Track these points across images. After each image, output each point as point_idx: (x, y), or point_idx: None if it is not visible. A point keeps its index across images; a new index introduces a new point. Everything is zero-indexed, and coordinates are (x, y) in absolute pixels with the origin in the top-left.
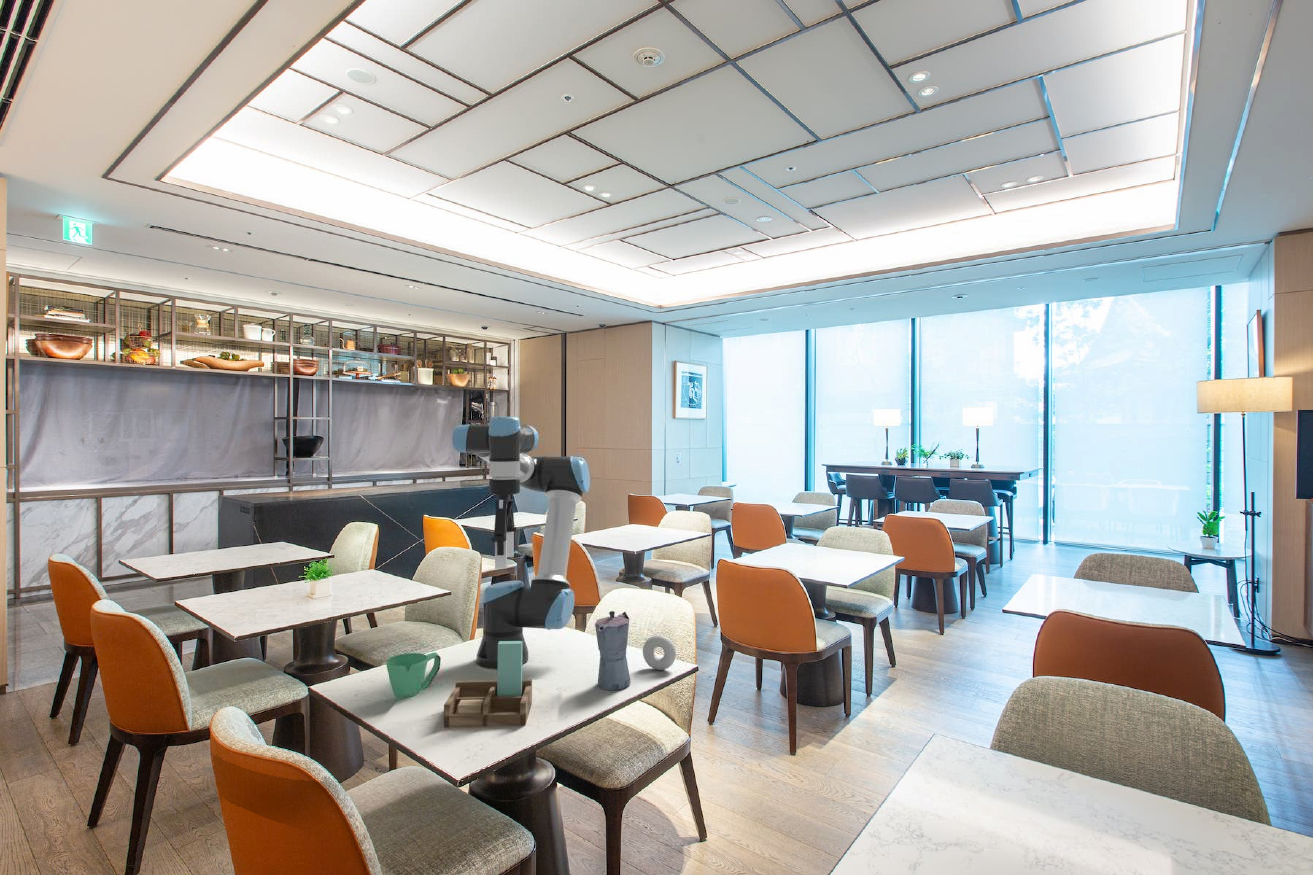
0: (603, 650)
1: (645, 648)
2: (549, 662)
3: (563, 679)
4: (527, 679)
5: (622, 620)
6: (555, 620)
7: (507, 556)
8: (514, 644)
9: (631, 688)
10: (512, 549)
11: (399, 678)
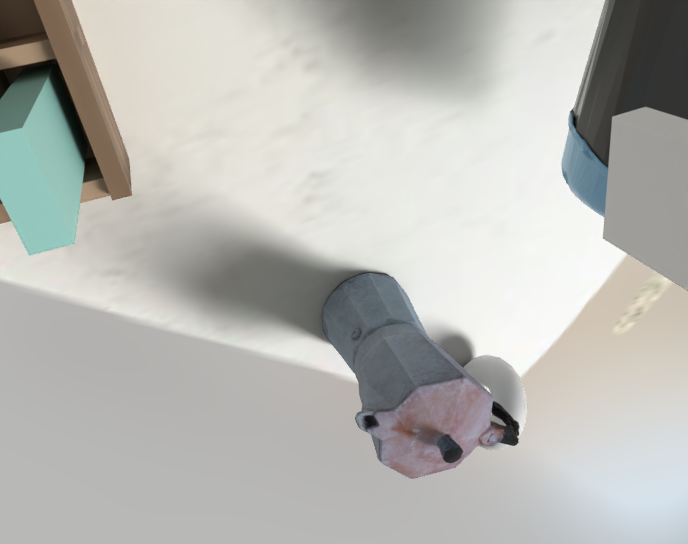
0: (366, 361)
1: (494, 381)
2: (535, 71)
3: (391, 167)
4: (125, 179)
5: (430, 464)
6: (565, 170)
7: (613, 178)
8: (13, 222)
9: (340, 356)
10: (675, 274)
11: None
